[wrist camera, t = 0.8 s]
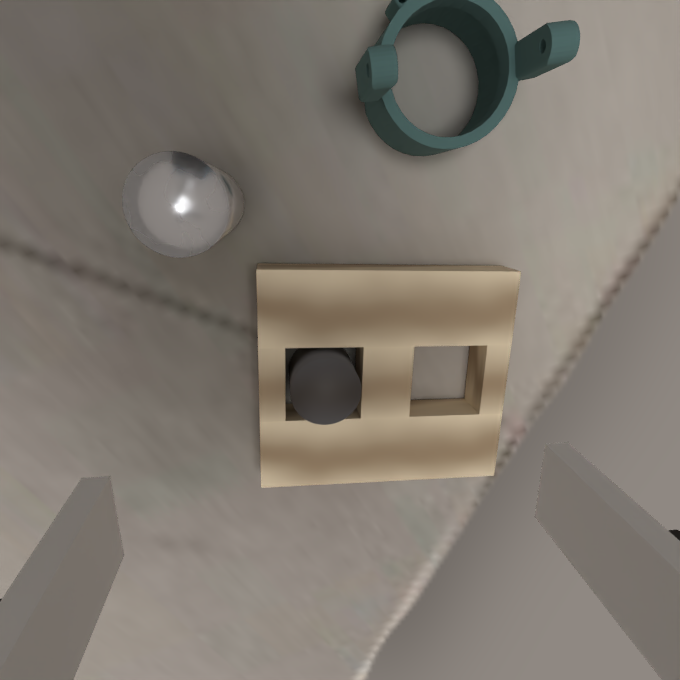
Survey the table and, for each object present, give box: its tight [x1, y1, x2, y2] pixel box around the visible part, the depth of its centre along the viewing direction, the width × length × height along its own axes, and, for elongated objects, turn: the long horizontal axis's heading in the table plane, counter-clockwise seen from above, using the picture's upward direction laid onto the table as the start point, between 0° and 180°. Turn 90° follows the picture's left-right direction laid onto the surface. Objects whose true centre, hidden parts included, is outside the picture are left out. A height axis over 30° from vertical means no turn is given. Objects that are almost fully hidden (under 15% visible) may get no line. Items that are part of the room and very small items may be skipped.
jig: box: [256, 263, 521, 488], centre depth 35 cm, size 16×18×4 cm
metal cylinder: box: [122, 151, 244, 258], centre depth 26 cm, size 4×4×12 cm
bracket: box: [355, 0, 580, 156], centre depth 27 cm, size 9×9×9 cm
